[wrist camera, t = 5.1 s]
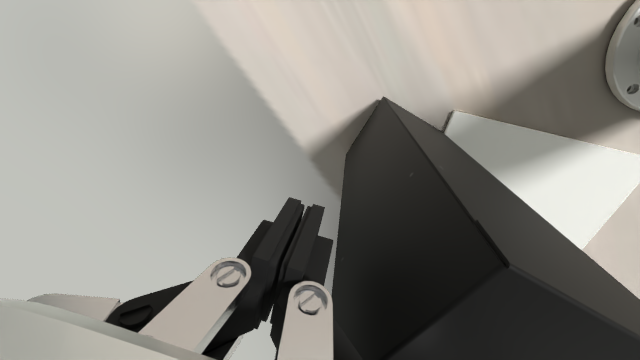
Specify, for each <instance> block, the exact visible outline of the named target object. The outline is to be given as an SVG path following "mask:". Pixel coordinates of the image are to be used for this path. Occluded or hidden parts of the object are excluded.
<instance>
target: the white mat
mask: <svg viewBox="0 0 640 360" xmlns="http://www.w3.org/2000/svg"><path fill="white" fill-rule="evenodd" d="M444 134H445V135H446V136H447V137H449V138H450V139H451V140H452V141H453V142H454V143H456V144H457V145H458V146H459V147H460V148H462V149H463V150H464V151H465V152H466V153H467V154H469V155H470V156H471V157H472V158H473V159H474V160H476V161H477V162H478V163H479V164H480V165H482V166H483V167H484V168H485V169H486V170H487V171H489V172H490V173H491V174H492V175H493V176H495V177H496V178H497V179H498V180H499V181H500V182H502V183H503V184H504V185H505V186H506V187H508V188H509V189H510V190H511V191H512V192H513V193H515V194H516V195H517V196H518V197H519V198H520V199H522V200H523V201H524V202H525V203H526V204H528V205H529V206H530V207H531V208H532V209H533V210H535V211H536V212H537V213H538V214H539V215H541V216H542V217H543V218H544V219H545V220H546V221H548V222H549V223H550V224H551V225H552V226H553V227H555V228H556V229H557V230H558V231H559V232H561V233H562V234H563V235H564V236H565V237H566V238H568V239H569V240H570V241H571V242H572V243H574V244H575V245H576V246H577V247H578V248H579V249H581V250H582V249H583V248H584V247H585V246H586V244H587V243H588V242H589V241H590V240H591V239H592V237H593V236H594V235H595V234H596V233H597V232H598V231H599V229H600V228H601V227H602V226H603V225H604V224H605V222H606V221H607V220H608V219H609V218H610V217H611V215H612V214H613V213H614V212H615V211H616V210H617V208H618V207H619V206H620V205H621V204H622V203H623V201H624V200H625V199H626V198H627V197H628V196H629V194H630V193H631V192H632V191H633V190H634V189H635V187H636V186H637V185H638V184H639V183H640V155H639V154H635V153H630V152H626V151H622V150H618V149H614V148H609V147H605V146H601V145H597V144H593V143H589V142H584V141H580V140H576V139H572V138H568V137H563V136H559V135H555V134H551V133H547V132H542V131H538V130H534V129H530V128H526V127H522V126H517V125H513V124H509V123H505V122H501V121H496V120H492V119H488V118H484V117H480V116H476V115H471V114H467V113H463V112H459V111H455V110H453V113H452V115H451V117H450V120H449V122H448V124H447V126H446V129H445V131H444Z"/></svg>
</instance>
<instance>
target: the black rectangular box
mask: <svg viewBox="0 0 640 360" xmlns="http://www.w3.org/2000/svg"><path fill="white" fill-rule="evenodd" d="M332 288H333V289H332V302H333V317H334V319H335V320H336V322H337V323H338V325H339V326H340V327H341V329H342V330H343V332H344V333H345V335H346V336H347V338H348V339H349V340H350V342H351V343H352V345H353V346H354V348H355V349H356V350H357V352H358V353H359V355H360V356H361V358H362V359H363V360H640V299H638V298H637V297H636V296H635V295H634V294H632V293H631V292H630V291H629V290H628V289H627V288H625V287H624V286H623V285H622V284H621V283H620V282H618V281H617V280H616V279H615V278H614V277H612V276H611V275H610V274H609V273H608V272H607V271H605V270H604V269H603V268H602V267H601V266H599V265H598V264H597V263H596V262H595V261H594V260H592V259H591V258H590V257H589V256H588V255H587V254H585V253H584V252H583V251H582V250H581V249H579V248H578V247H577V246H576V245H575V244H574V243H572V242H571V241H570V240H569V239H568V238H566V237H565V236H564V235H563V234H562V233H561V232H559V231H558V230H557V229H556V228H555V227H553V226H552V225H551V224H550V223H549V222H548V221H546V220H545V219H544V218H543V217H542V216H541V215H539V214H538V213H537V212H536V211H535V210H533V209H532V208H531V207H530V206H529V205H528V204H526V203H525V202H524V201H523V200H522V199H520V198H519V197H518V196H517V195H516V194H515V193H513V192H512V191H511V190H510V189H509V188H508V187H506V186H505V185H504V184H503V183H502V182H500V181H499V180H498V179H497V178H496V177H495V176H493V175H492V174H491V173H490V172H489V171H487V170H486V169H485V168H484V167H483V166H482V165H480V164H479V163H478V162H477V161H476V160H474V159H473V158H472V157H471V156H470V155H469V154H467V153H466V152H465V151H464V150H463V149H462V148H460V147H459V146H458V145H457V144H456V143H454V142H453V141H452V140H451V139H450V138H449V137H447V136H446V135H445V134H444V133H443V132H441V131H440V130H438V129H436V128H435V127H433V126H431V125H430V124H428V123H426V122H425V121H423V120H422V119H420V118H418V117H417V116H415V115H413V114H412V113H410V112H408V111H407V110H405V109H403V108H402V107H400V106H398V105H397V104H395V103H394V102H392V101H390V100H389V99H387V98H385V97H383V98H382V99H381V101H380V102H379V104H378V106H377V107H376V109H375V110H374V112H373V113H372V115H371V116H370V118H369V120H368V121H367V123H366V124H365V126H364V127H363V129H362V131H361V132H360V134H359V135H358V137H357V138H356V140H355V141H354V143H353V145H352V146H351V148H350V149H349V151H348V152H347V154H346V160H345V170H344V180H343V190H342V199H341V210H340V219H339V229H338V238H337V248H336V258H335V268H334V278H333V287H332Z"/></svg>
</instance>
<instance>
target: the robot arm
mask: <svg viewBox="0 0 640 360" xmlns="http://www.w3.org/2000/svg"><path fill="white" fill-rule="evenodd" d="M605 72H606V78H607V83H608V85H609V87H610V89H611V91H612V93H613V94H614V95H615V96H616V97H617V99H618V100H619V101H620V102H622V103H623V104H625V105H627V106H628V107H630V108H632V109H635V110H638V111H640V0H636V1H635V2H634V3H633V4H632V5H631V7H630V8H629V9H628V11H627V12H626V13H625V15H624V16H623V18H622V19H621V21H620V22H619V24H618V26H617V28H616V30H615V32H614V34H613V36H612V38H611V40H610V44H609V47H608V51H607V54H606V65H605ZM324 208H325V207H322V206H318V205H315V204H313V206H312V207H310V206H308V207H307V209H306V211H305V213H304V216H303V218H302V215H303V211H304V205H303V204H301V201H300V200H297V199H293V198H288V200H287V202H286V203H285V205H284V206H283V208H282V210H281V211H280V213H279V214H278V216H277V218H276V219H275V221H274V222H270V221H266V220H263V221H262V222H261V224H260V225H259V226H258V228H257V229H256V231H255V232H254V234H253V235H252V236H251V238H250V239H249V241H248V242H247V244H246V245H245V246H244V248H243V249H242V251H241V252H240V254H239V255H238V256H237V258H223V259H220V260H218V261H216V262H214V263H213V264H212V265H210V266H209V267H208V268H207V269H206V270H205V271H204V272H203V273H202V274H201V275H199V276H198V277H197V278H196V279H195V280H194V281H190V282H187V283H184V284H180V285H177V286H174V287H170V288H167V289H164V290H161V291H157V292H154V293H150V294H147V295H144V296H140V297H137V298H134V299H132V300H129V301H127V302H125V303H120V300H119V299H113V298H102V297H90V296H78V295H66V294H65V295H64V294H44V295H41V296H37V297H34V298H31V299H29V300H27V301H24V300H14V299H0V360H229V359H230V357H231V356H232V354H233V352H234V351H235V349H236V348H237V346H238V345H239V343H240V342H241V339H242V337H243V334H245V333H247V332H249V331H252V330H253V329H254V328H255V329H258V327H259V325H260V322H261V320H262V321H265V322H266V321H267V319H268V316H269V314H270V311H271V309H272V306H273V310H272V315H271V320H270V323H271V324H272V329H271V334H270V336H271V338H272V341H273V343H274V345H275V347H276V355H275V360H363V359H362V358H361V356H360V355H359V353H358V352H357V350H356V349H355V348H354V346H353V345H352V343H351V342H350V340H349V339H348V338H347V336H346V335H345V333H344V332H343V330H342V329H341V327H340V326H339V325H338V323H337V322H336V320H335V319H334V317H333V302H332V297H331V295H330V293H329V292H328V290H327V289H326V288H325V287H324V282H325V278H326V272H327V268H328V264H329V259H330V254H331V249H332V245H333V240H331V239H328V238H324V237H321V236H318V232H319V227H320V224H321V220H322V216H323V212H324ZM273 304H274V305H273Z"/></svg>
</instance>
